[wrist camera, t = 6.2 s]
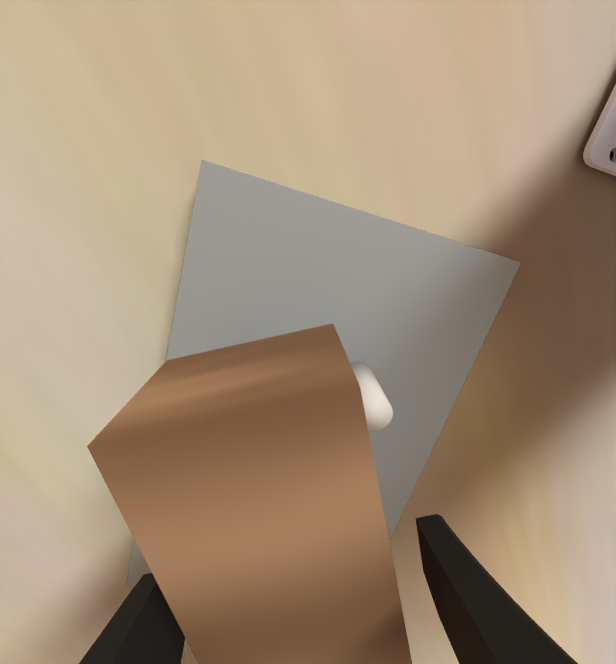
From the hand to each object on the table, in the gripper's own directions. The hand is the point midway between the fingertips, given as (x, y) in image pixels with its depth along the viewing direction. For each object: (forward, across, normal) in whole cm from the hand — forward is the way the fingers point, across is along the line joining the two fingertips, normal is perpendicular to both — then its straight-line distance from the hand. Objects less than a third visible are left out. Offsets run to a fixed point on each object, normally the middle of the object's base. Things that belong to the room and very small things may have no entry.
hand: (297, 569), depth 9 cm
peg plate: (+7, 0, 0) cm, 7 cm away
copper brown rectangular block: (+2, 0, 0) cm, 2 cm away
